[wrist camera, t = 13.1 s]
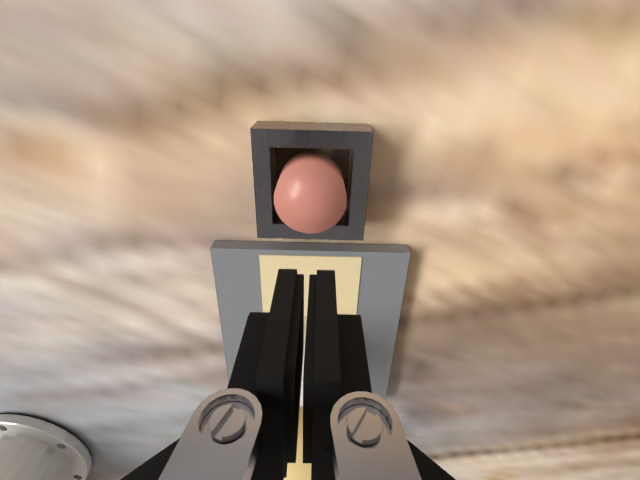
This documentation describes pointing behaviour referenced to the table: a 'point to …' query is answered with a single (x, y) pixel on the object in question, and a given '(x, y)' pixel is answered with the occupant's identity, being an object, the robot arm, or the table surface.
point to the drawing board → (351, 289)
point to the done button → (310, 193)
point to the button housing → (311, 136)
